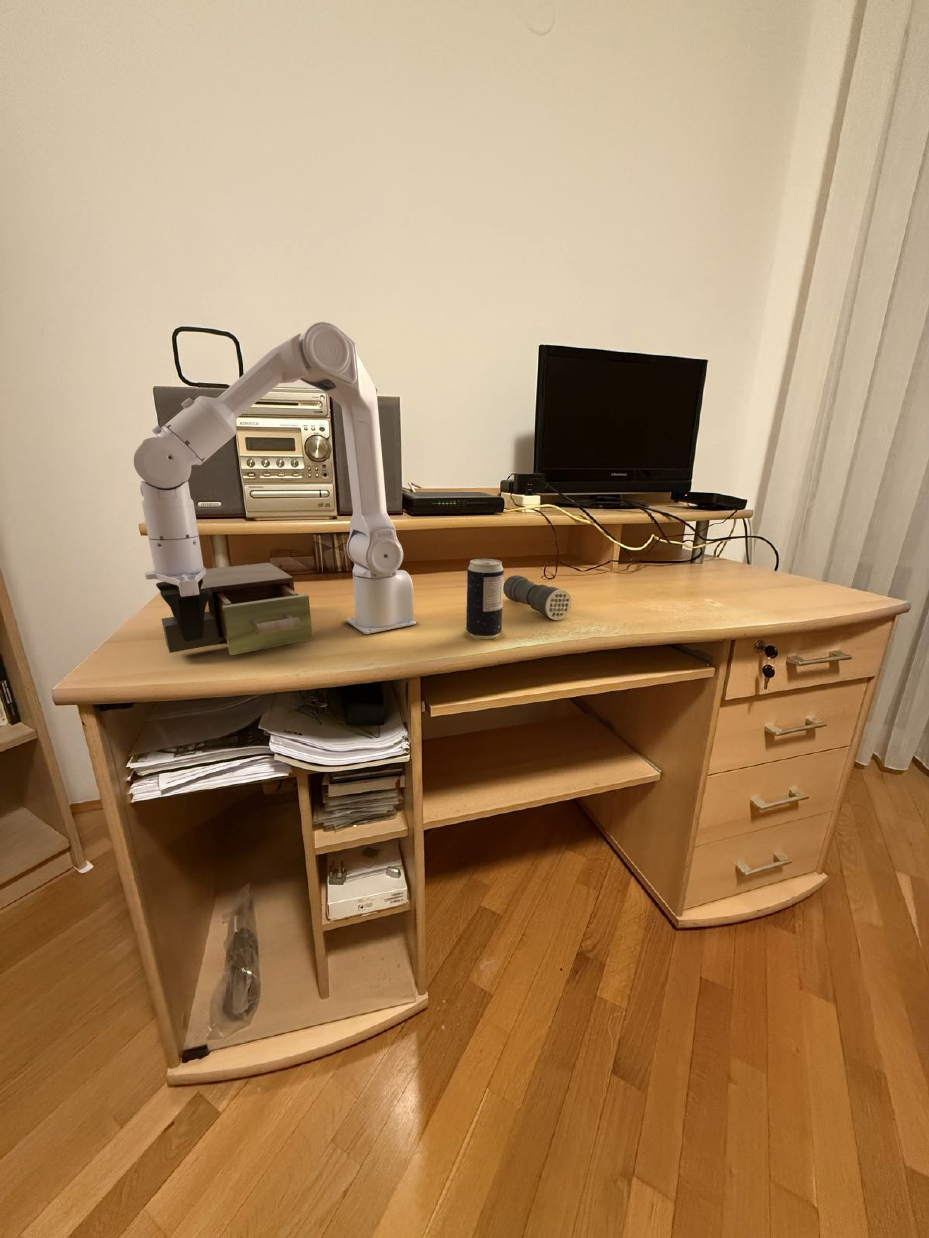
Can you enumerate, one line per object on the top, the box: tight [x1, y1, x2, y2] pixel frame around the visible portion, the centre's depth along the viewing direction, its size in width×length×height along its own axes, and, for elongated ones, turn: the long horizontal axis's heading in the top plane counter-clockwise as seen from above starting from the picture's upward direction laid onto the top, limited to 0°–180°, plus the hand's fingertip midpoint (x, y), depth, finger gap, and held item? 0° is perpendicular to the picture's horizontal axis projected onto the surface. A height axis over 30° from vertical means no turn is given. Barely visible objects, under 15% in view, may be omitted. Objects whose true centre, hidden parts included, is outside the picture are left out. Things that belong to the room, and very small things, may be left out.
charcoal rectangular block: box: [161, 612, 220, 654], centre depth 68 cm, size 6×4×4 cm, turn 126°
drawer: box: [212, 584, 313, 656], centre depth 72 cm, size 17×11×7 cm, turn 36°
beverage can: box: [465, 558, 505, 640], centre depth 77 cm, size 6×6×12 cm
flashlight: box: [503, 574, 573, 621], centre depth 93 cm, size 15×5×5 cm, turn 28°
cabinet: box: [201, 562, 296, 643], centre depth 81 cm, size 14×13×9 cm
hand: (190, 634), depth 68 cm, fingers closed on charcoal rectangular block, 4 cm apart
